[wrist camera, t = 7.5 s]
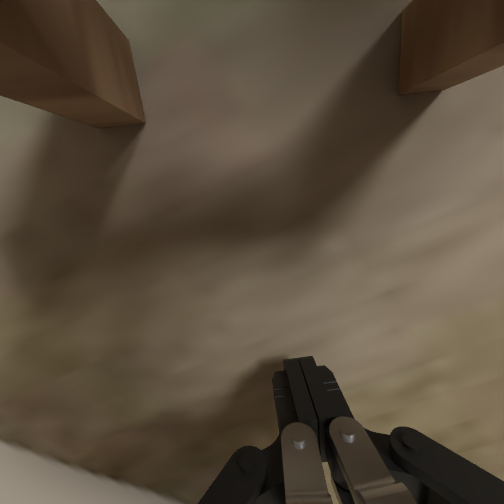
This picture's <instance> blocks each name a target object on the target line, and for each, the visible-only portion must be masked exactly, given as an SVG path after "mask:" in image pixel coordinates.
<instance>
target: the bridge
mask: <svg viewBox="0 0 504 504" xmlns="http://www.w3.org/2000/svg"><path fill="white" fill-rule="evenodd" d="M503 65H504V0H413V1H412V2H411V3H410V4H409V5H408V6H407V7H406V8H405V9H404V10H403V11H402V27H401V50H400V72H399V95H403V94H412V93H421V92H430V91H439V90H445V89H447V88H450V87H452V86H455V85H457V84H459V83H462V82H464V81H467V80H469V79H471V78H474V77H476V76H479V75H481V74H484V73H486V72H488V71H491V70H493V69H496V68H498V67H501V66H503ZM0 96H3V97H6V98H9V99H12V100H15V101H18V102H21V103H24V104H28V105H31V106H34V107H37V108H40V109H43V110H46V111H49V112H52V113H55V114H58V115H61V116H64V117H67V118H70V119H73V120H76V121H79V122H82V123H85V124H88V125H91V126H94V127H97V128H106V127H115V126H124V125H133V124H142V123H146V122H145V117H144V112H143V107H142V102H141V97H140V93H139V88H138V83H137V78H136V73H135V68H134V63H133V58H132V54H131V49H130V44H129V40H128V39H127V38H126V36H125V35H124V34H123V33H122V31H121V30H120V29H119V28H118V27H117V25H116V24H115V23H114V22H113V20H112V19H111V18H110V17H109V16H108V14H107V13H106V12H105V11H104V9H103V8H102V7H101V6H100V5H99V3H98V2H97V1H96V0H0Z"/></svg>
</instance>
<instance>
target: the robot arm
mask: <svg viewBox="0 0 504 504" xmlns="http://www.w3.org/2000/svg"><path fill="white" fill-rule="evenodd" d="M283 363H284V371H277V372H275V374H274V377H273V379H272V382H273V391H274V400H275V408H276V414H277V420H278V427H279V436H278V438H277V439H276V441H275V442H274V443H273V444H272V445H270V446H269V447H267V448H265V449H263V450H260V449H258V448H257V447H254V446H244V447H242V448H240V449H238V450H237V451H236V452H235V453H234V454H233V455H232V457H231V458H230V459H229V461H228V462H227V464H226V465H225V466H224V468H223V469H222V471H221V472H220V473H219V475H218V476H217V478H216V479H215V480H214V482H213V483H212V485H211V486H210V487H209V489H208V490H207V492H206V493H205V494H204V496H203V497H202V499H201V500H200V501H199V503H198V504H333V502H332V498H331V495H329V493H328V489H327V484H326V480H325V475H324V470H323V466H322V462H328V465H329V468H330V471H331V483H332V486H333V489H334V491H335V494H336V497H337V500H338V502H339V504H504V481H502V480H500V479H499V478H497V477H495V476H494V475H492V474H490V473H489V472H487V471H485V470H483V469H482V468H480V467H478V466H477V465H475V464H473V463H471V462H470V461H468V460H466V459H465V458H463V457H461V456H460V455H458V454H456V453H454V452H453V451H451V450H449V449H448V448H446V447H444V446H442V445H441V444H439V443H437V442H436V441H434V440H432V439H431V438H429V437H427V436H425V435H424V434H422V433H420V432H419V431H417V430H415V429H412V428H409V427H397V428H395V429H393V430H392V432H391V434H390V435H387V434H381V433H376V432H372V431H369V430H367V429H365V428H364V427H363V426H362V425H361V424H360V423H359V422H358V421H356V420H355V419H354V417H353V415H352V413H351V411H350V409H349V407H348V404H347V402H346V400H345V398H344V396H343V394H342V392H341V390H340V387H339V385H338V383H337V382H336V379H335V377H334V375H333V373H332V372H331V371H330V370H329V369H328V368H327V367H326V366H325V365H324V366H317V365H316V363H315V361H314V358H313V356H308V357H300V358H293V359H285V360H283Z"/></svg>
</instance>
